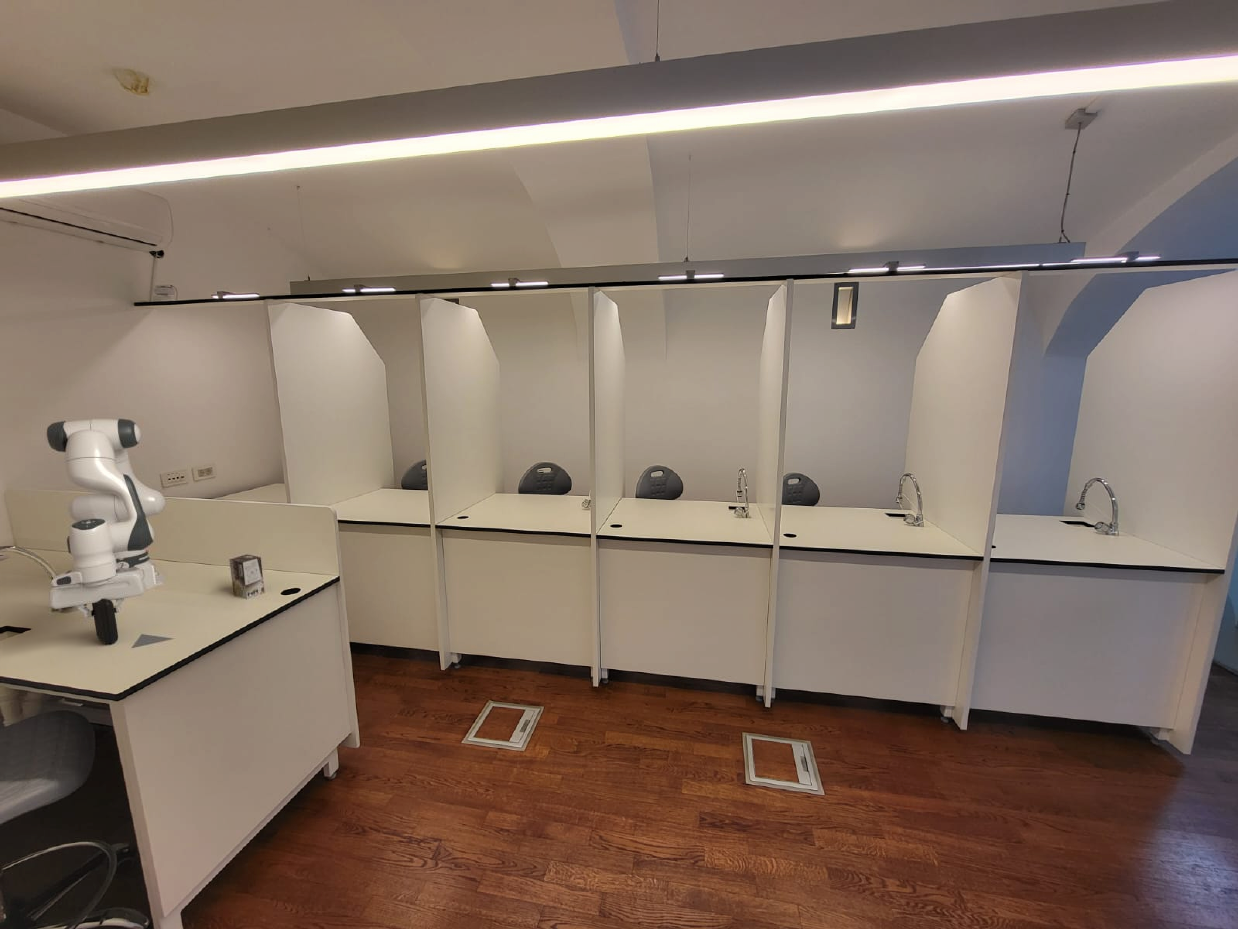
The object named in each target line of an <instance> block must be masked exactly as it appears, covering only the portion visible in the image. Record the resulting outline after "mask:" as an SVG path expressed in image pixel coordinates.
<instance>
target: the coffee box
mask: <svg viewBox="0 0 1238 929" xmlns="http://www.w3.org/2000/svg"><path fill="white" fill-rule="evenodd" d="M262 566H263V565H262V557H260V556H256V555H253V554H248V553H247V554H243V555H240V556H237V557H233V558H229V567H230V568H229V569H230V575H231V576H230V577H231V584H232V590H233V595H234V596H235V597H238V598H241V599H245V600H249V599H253V598H254V597H257V596H261V595H263V594H265V586H264V585H265V584H264V576H263V575H264V574H263V567H262Z"/></svg>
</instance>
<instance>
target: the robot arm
mask: <svg viewBox="0 0 1238 929" xmlns="http://www.w3.org/2000/svg"><path fill="white" fill-rule="evenodd" d="M141 433H142V431H141V430H140V427H139V426H138V425H137V423H136V422H134V421H133V420H131V419H126V418H118V419H113V418H111V419H110V418H92V419H81V420H79V419H78V420H71V421H66V420H64V421H63V420H62V421H57V422H52V423H51V424H50V425H49V426H47V428H46V431H45V440H46V442H47V444H48V445H49V446H50V448H51V449H52V450H54V451H57V452H60V453H65V454H64V461H65V462H64V463H65V472H66V475H67V479H68V480H69V481H70V482H71V483H73V484H74V485H76V486H78V487H80V488H83V489H86V490H91V491H97V492H98V493H97V492H95V493H89V494H84V495H80V496H76V497H74V498H73V499H71V501H70V503H69V504H68V508H67V511H68V515H69V516H70V518H72V520H73V521H75V522H74V523H72V524H71V525H70V527H69V535H68V536H67V538H66V545H67V550H68V553H69V554H70V555H71V556H72V558H73V564H72V566H73V567H72V569H70V570H67V571H65V572H62V573H59V574H58V575H57V576H54V578H53V579H52V580H51V581H50V583H51V586H53V587H52V588H50V589H49V590H50V591H49V596H48V597H49V599H48V600H49V606H50V608H52V609H54V610H58V609H63V608H69V607H77V610H79V611H80V612H81V613H83V614H84V618H85V619H88V618H92V617H93V618H94V613H93V612H94V611H93V609H89V608H88V607H87V606H88V604H89V605H90V604H92V603H96V602H98V601H99V600H101V599H103V598H105V599H108V600H111V601H115V603H117V604H116V605H115V606H114V612H115V614H117V613H121V611H122V610H121V606H122V603H123V602H124V600H125V599H129V598H134V597H141V596H143V594H144V593H145V592H146V590H150V589H153V588H155V587H158V586H161V585H164V584H165V572H157V566H156V564H155V562H153V561H152V560H151V559H150V554H149V549H148V547H149V546H151V545H152V544H153V543H154V540H155V532H154V528H153V527H152V525H151V523H150V522H149V520H148V518H149V517H152V516H156V515H159V514H161V513H162V511H163V510H164V509H165V506H166V499H165V496H164V495H163V494H162V493H161V492H160V491H158V490H156V489H153V488H151V487H149V486H146V485H145V484H144V483H142V482H141V480H139V479H138V478H137V476H136V475H135V473H134V470H133V467H132V465H131V462H130V461H131V460H130V456H129V453H128V449H130V448H133V447H136V446H137V445H138V444H139V443H140V440H141V437H142V434H141ZM147 517H148V518H147ZM125 520H126V521H125ZM121 521H122V522H121ZM163 583H164V584H163ZM157 585H158V586H157ZM154 586H155V587H154Z"/></svg>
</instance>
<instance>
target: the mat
mask: <svg viewBox="0 0 1238 929" xmlns="http://www.w3.org/2000/svg"><path fill="white" fill-rule="evenodd" d="M171 640H175V638H172V637H165V636H157V635H152V634H150V635H149V634H143V633H141V634H140V636H139V637H138V638H137V640H136V641H135V643H134V644H133V645H132V646H131V648H132V649H134V648H138V647H139V648H140V647H143V646H148V645H152V644H156V643H161V642H165V641H171Z"/></svg>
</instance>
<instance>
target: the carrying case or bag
mask: <svg viewBox="0 0 1238 929" xmlns="http://www.w3.org/2000/svg"><path fill="white" fill-rule="evenodd" d="M91 607H92V610H93V611H94V612H93V613H94V616H93V619H94V625H95V633H96V636H97V638H98V639H99V641H102V642H103V643H104V644H106V645H114V644H115V643H116V642H117V641H118V640H119V632H118V624H117V620H116V619H117V618H116V613H115V612H114V603H113V600H108V599H105V598H103V599H101V600H99V601H98V602H96V603H91Z"/></svg>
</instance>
